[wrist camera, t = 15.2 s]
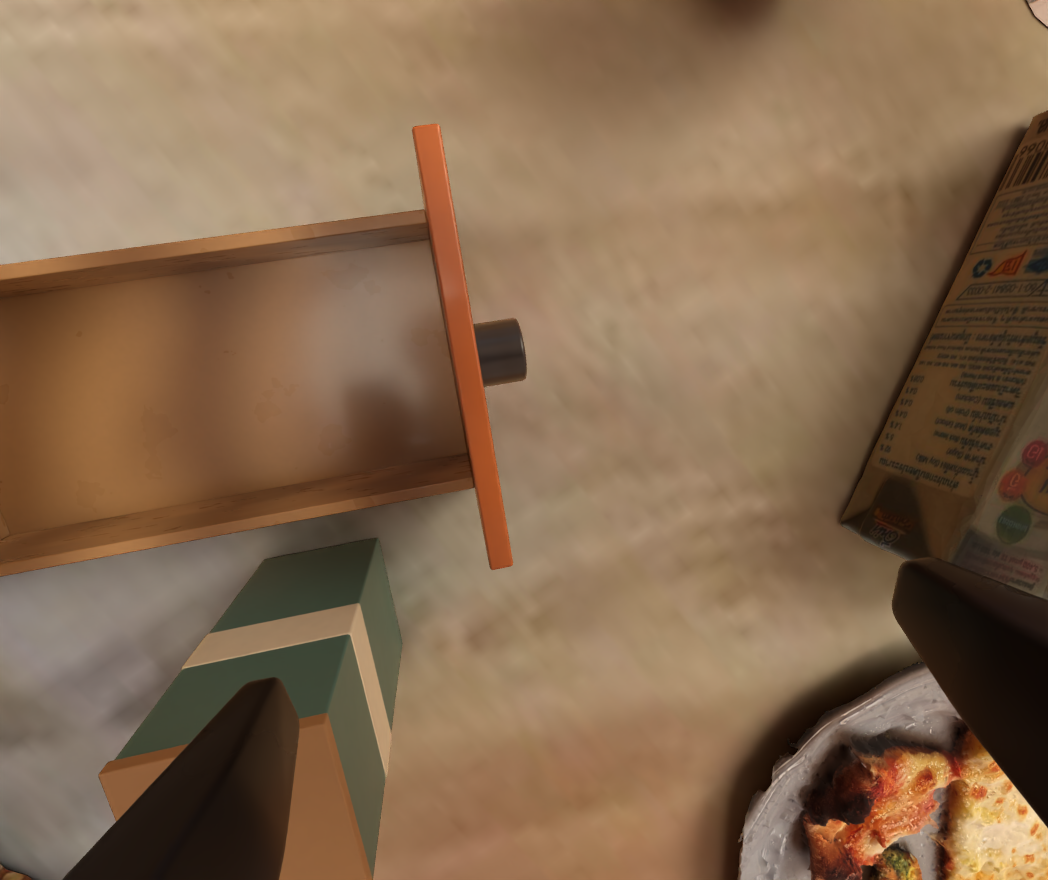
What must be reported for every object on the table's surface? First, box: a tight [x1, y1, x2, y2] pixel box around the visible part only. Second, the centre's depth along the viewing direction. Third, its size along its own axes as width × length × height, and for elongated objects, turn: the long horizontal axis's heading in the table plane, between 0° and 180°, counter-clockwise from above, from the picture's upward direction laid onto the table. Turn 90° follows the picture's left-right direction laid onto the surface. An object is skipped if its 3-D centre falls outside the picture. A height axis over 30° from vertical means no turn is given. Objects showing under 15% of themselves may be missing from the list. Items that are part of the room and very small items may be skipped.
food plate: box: [737, 662, 1048, 880], centre depth 29 cm, size 25×23×4 cm
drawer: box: [0, 124, 527, 577], centre depth 16 cm, size 19×10×9 cm, turn 99°
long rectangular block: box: [99, 538, 402, 880], centre depth 18 cm, size 5×5×11 cm
